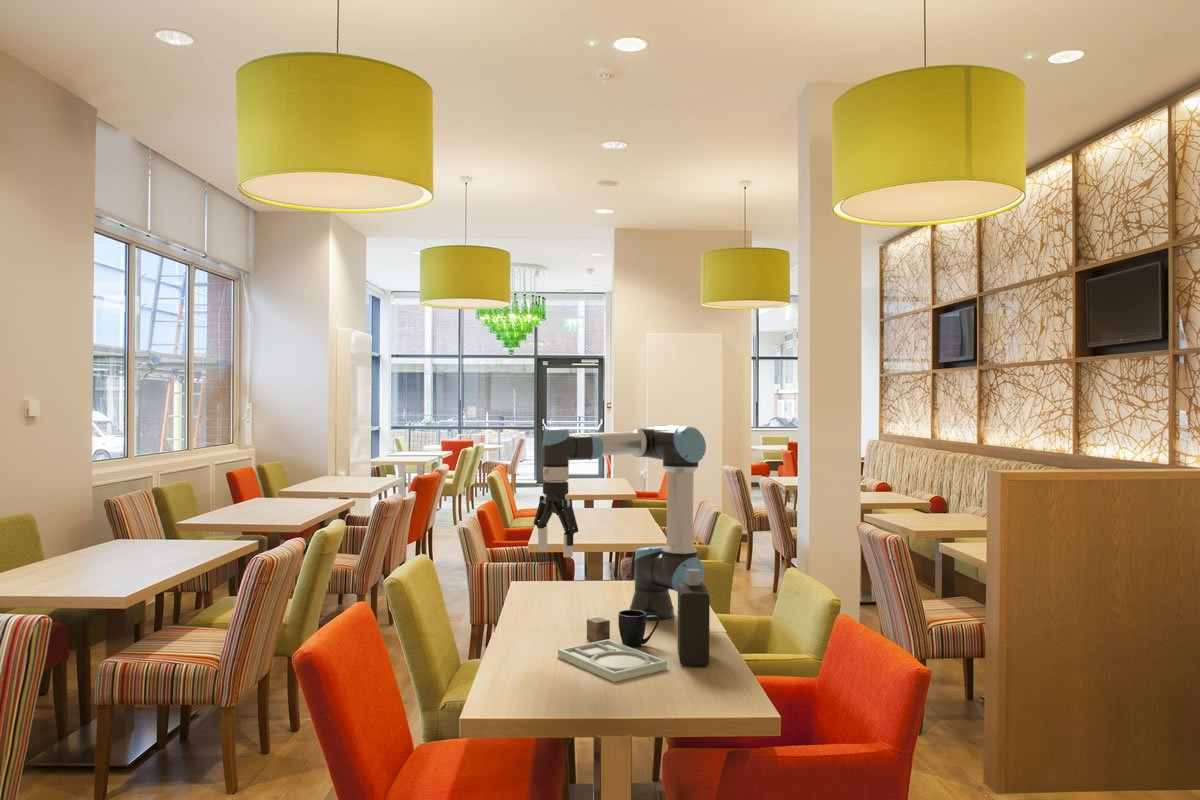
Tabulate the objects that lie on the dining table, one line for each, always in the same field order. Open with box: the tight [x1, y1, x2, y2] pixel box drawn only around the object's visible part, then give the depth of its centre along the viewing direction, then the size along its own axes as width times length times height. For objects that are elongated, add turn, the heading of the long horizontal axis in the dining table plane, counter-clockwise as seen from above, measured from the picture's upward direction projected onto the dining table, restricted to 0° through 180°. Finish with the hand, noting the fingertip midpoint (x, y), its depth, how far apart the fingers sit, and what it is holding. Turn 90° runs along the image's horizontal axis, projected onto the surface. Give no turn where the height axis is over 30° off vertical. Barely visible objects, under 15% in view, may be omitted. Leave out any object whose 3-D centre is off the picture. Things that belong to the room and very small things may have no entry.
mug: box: [618, 609, 660, 649], centre depth 244 cm, size 8×12×10 cm
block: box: [586, 616, 611, 642], centre depth 250 cm, size 5×5×6 cm
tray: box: [557, 638, 668, 683], centre depth 227 cm, size 18×26×2 cm
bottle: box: [677, 568, 711, 668], centre depth 231 cm, size 8×16×25 cm, turn 177°
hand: (555, 553), depth 242 cm, fingers open, 13 cm apart
